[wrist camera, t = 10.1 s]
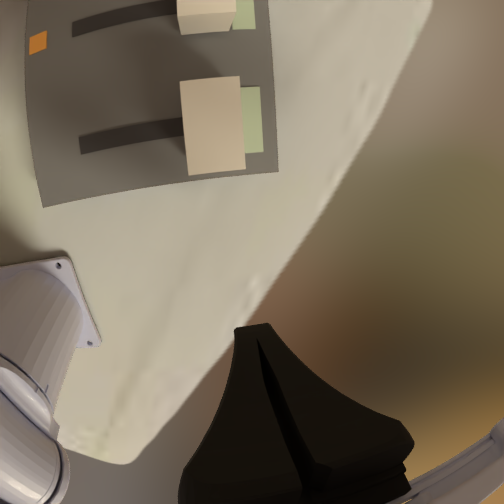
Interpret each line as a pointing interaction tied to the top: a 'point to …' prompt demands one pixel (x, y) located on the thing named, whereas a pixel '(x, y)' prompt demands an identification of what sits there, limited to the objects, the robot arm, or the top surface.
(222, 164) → the block
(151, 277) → the top surface
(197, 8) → the breaker
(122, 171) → the breaker panel
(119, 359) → the top surface
